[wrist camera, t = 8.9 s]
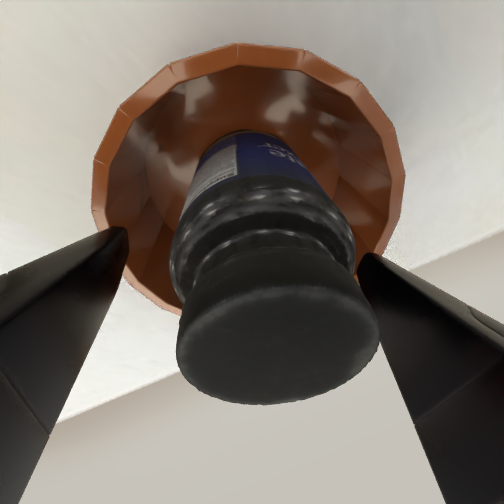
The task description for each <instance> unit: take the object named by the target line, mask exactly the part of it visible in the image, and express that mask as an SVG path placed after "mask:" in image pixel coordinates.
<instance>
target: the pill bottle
mask: <svg viewBox="0 0 504 504" xmlns="http://www.w3.org/2000/svg"><path fill="white" fill-rule="evenodd" d="M355 264H356V247H355V238H354V236H353V234H352V231H351V228H350V226H349V224H348V222H347V220H346V217H345V216H344V215H343V213H342V212H341V210H340V209H339V208H338V207H337V206H336V204H335V203H334V202H333V201H332V200H331V198H330V197H329V196H328V194H327V193H326V192H325V191H324V190H323V188H322V187H321V186H320V184H319V183H318V182H317V181H316V179H315V178H314V177H313V175H312V174H311V173H310V172H309V170H308V169H307V168H306V166H305V165H304V164H303V163H302V162H301V160H300V159H299V158H298V157H297V155H296V154H295V153H294V152H293V150H292V149H291V148H290V147H289V146H288V145H287V144H286V143H285V142H284V141H283V140H281V139H280V138H279V137H277V136H276V135H273V134H271V133H268V132H259V131H254V130H249V129H241V130H237V131H233V132H230V133H228V134H225V135H223V136H222V137H220V138H218V139H217V140H216V141H215V142H214V143H212V144H211V145H210V146H209V147H208V148H207V150H206V151H205V152H204V153H203V155H202V156H201V158H200V160H199V162H198V165H197V168H196V171H195V174H194V177H193V180H192V183H191V186H190V189H189V192H188V195H187V199H186V202H185V205H184V208H183V210H182V214H181V216H180V220H179V223H178V226H177V229H176V232H175V234H174V237H173V240H172V243H171V249H170V255H169V268H170V276H171V279H172V284H173V287H174V289H175V291H176V293H177V295H178V297H179V299H180V301H181V302H182V303H183V304H184V305H183V307H182V313H181V318H180V320H179V331H178V336H177V344H176V359H177V363H178V367H179V368H180V371H181V372H182V375H183V376H184V377H185V378H186V380H187V381H188V382H189V383H190V384H192V385H193V386H195V387H196V388H197V389H198V390H199V391H201V392H203V393H204V394H207V395H209V396H211V397H215V398H218V399H221V400H223V401H228V402H232V403H240V404H249V405H258V404H260V405H272V404H280V403H288V402H295V401H297V400H305V399H308V398H311V397H314V396H316V395H320V394H323V393H326V392H328V391H329V390H332V389H335V388H337V387H338V386H340V385H342V384H344V383H346V382H347V381H348V380H350V379H352V378H353V377H354V376H355V375H357V374H358V373H359V372H361V370H362V369H363V368H364V367H366V365H367V364H368V362H370V361H371V359H372V358H373V356H374V354H375V353H376V352H377V347H378V346H379V341H380V334H381V332H380V327H379V322H378V320H377V317H376V315H375V312H374V311H373V309H372V307H371V305H370V304H369V302H368V300H367V299H366V297H365V296H364V294H363V292H362V290H361V287H360V286H359V284H358V282H357V281H356V279H355V278H354V276H353V273H354V269H355Z"/></svg>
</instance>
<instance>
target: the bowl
mask: <svg viewBox="0 0 504 504" xmlns="http://www.w3.org/2000/svg"><path fill="white" fill-rule="evenodd" d="M241 129H249V130H254V131H259V132H268V133H271V134H273V135H276V136H277V137H279V138H280V139H281V140H283V141H284V142H285V143H286V144H287V145H288V146H289V147H290V148H291V149H292V150H293V152H294V153H295V154H296V155H297V157H298V158H299V159H300V160H301V162H302V163H303V164H304V165H305V166H306V168H307V169H308V170H309V172H310V173H311V174H312V175H313V177H314V178H315V179H316V181H317V182H318V183H319V184H320V186H321V187H322V188H323V190H324V191H325V192H326V193H327V194H328V196H329V197H330V198H331V200H332V201H333V202H334V203H335V204H336V206H337V207H338V208H339V209H340V210H341V212H342V213H343V215H344V216H345V217H346V220H347V222H348V224H349V226H350V228H351V231H352V234H353V236H354V238H355V247H356V264H355V269H354V273H353V276H354V278H355V279H356V281H357V282H358V278H357V275H356V269H357V266H358V264H359V263H360V261H361V259H362V257H363V255H364V254H365V253H367V252H370V253H377V254H379V255H381V256H382V254H383V253H384V250H385V248H386V246H387V244H388V242H389V240H390V238H391V236H392V233H393V231H394V229H395V227H396V225H397V223H398V221H399V218H400V213H401V205H402V198H403V190H404V182H405V170H404V166H403V162H402V158H401V153H400V149H399V145H398V141H397V137H396V132H395V128H394V127H393V124H392V123H391V121H390V120H389V118H388V117H387V116H386V114H385V113H384V112H383V110H382V109H381V108H380V106H379V105H378V103H377V102H376V101H375V99H374V98H373V97H372V95H371V94H370V93H369V91H368V90H367V88H366V87H365V86H364V84H363V83H362V82H360V80H359V79H357V78H355V77H353V76H352V75H350V74H348V73H346V72H345V71H343V70H341V69H339V68H338V67H336V66H334V65H332V64H331V63H329V62H327V61H325V60H324V59H322V58H320V57H318V56H317V55H315V54H313V53H311V52H309V51H308V50H304V49H299V48H289V47H280V46H270V45H260V44H250V43H241V42H238V43H231V44H228V45H225V46H222V47H218V48H215V49H212V50H209V51H206V52H203V53H199V54H196V55H193V56H190V57H187V58H183V59H180V60H177V61H174V62H171V63H170V64H168V65H166V66H165V67H164V68H162V69H161V70H160V71H159V72H158V73H157V74H155V75H154V76H153V77H152V78H151V79H150V80H148V81H147V82H146V83H145V84H144V85H143V86H141V87H140V88H139V89H138V90H137V91H136V92H135V93H133V94H132V95H131V96H130V97H129V98H128V99H126V100H125V101H124V102H123V103H122V104H121V105H120V107H119V108H118V109H117V111H116V113H115V115H114V117H113V119H112V121H111V123H110V125H109V127H108V129H107V131H106V133H105V136H104V138H103V140H102V142H101V144H100V146H99V148H98V150H97V152H96V154H95V156H94V160H93V177H92V197H91V209H92V210H91V211H92V214H93V217H94V220H95V223H96V226H97V229H98V232H100V231H102V230H105V229H107V228H109V227H112V226H120V227H125V228H126V229H127V232H128V239H129V255H128V258H127V261H126V265H125V268H124V271H123V274H122V275H123V277H124V278H125V279H126V281H127V282H128V283H129V284H130V285H131V286H132V287H133V288H135V289H136V290H137V291H139V292H140V293H141V294H143V295H144V296H145V297H147V298H148V299H149V300H151V301H152V302H153V303H155V304H156V305H157V306H159V307H161V308H162V309H165V310H167V311H169V312H172V313H174V314H176V315H179V316H181V313H182V307H183V305H184V304H183V303H182V302H181V301H180V299H179V297H178V295H177V293H176V291H175V289H174V287H173V284H172V279H171V276H170V268H169V255H170V249H171V243H172V240H173V237H174V234H175V232H176V229H177V226H178V223H179V220H180V216H181V214H182V210H183V208H184V205H185V202H186V199H187V195H188V192H189V189H190V186H191V183H192V180H193V177H194V174H195V171H196V168H197V165H198V162H199V160H200V158H201V156H202V155H203V153H204V152H205V151H206V150H207V148H208V147H209V146H210V145H211V144H212V143H214V142H215V141H216V140H217V139H218V138H220V137H222V136H223V135H225V134H228V133H230V132H233V131H237V130H241ZM358 283H359V282H358Z"/></svg>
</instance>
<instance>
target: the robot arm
mask: <svg viewBox="0 0 504 504" xmlns="http://www.w3.org/2000/svg"><path fill="white" fill-rule="evenodd" d="M128 255H129V239H128V232H127V229H126V228H125V227H120V226H112V227H109V228H107V229H105V230H102V231H100V232H98V233H96V234H93V235H91V236H89V237H87V238H84V239H82V240H80V241H77V242H75V243H73V244H71V245H68V246H66V247H64V248H62V249H59V250H57V251H55V252H52V253H50V254H48V255H46V256H43V257H41V258H39V259H37V260H34V261H32V262H30V263H28V264H25V265H23V266H21V267H18V268H16V269H14V270H12V271H9V272H8V274H6V273H5V274H2V275H0V504H18V503H19V501H20V499H21V497H22V495H23V493H24V491H25V488H26V486H27V484H28V482H29V480H30V478H31V475H32V473H33V471H34V469H35V467H36V465H37V463H38V460H39V458H40V456H41V454H42V452H43V449H44V447H45V445H46V443H47V441H48V439H49V435H50V434H51V432H52V430H53V428H54V426H55V423H56V421H57V419H58V417H59V415H60V413H61V411H62V408H63V406H64V404H65V402H66V400H67V398H68V396H69V393H70V391H71V389H72V387H73V385H74V383H75V381H76V378H77V376H78V374H79V372H80V370H81V368H82V365H83V363H84V361H85V359H86V357H87V355H88V353H89V350H90V348H91V346H92V344H93V342H94V340H95V338H96V335H97V333H98V331H99V329H100V327H101V325H102V322H103V320H104V318H105V316H106V314H107V312H108V310H109V307H110V305H111V303H112V301H113V299H114V297H115V294H116V292H117V290H118V287H119V284H120V281H121V277H122V274H123V271H124V268H125V265H126V261H127V258H128ZM356 275H357V278H358V282H359V285H360V287H361V290H362V292H363V294H364V296H365V297H366V299H367V300H368V302H369V304H370V305H371V307H372V309H373V311H374V312H375V315H376V317H377V320H378V322H379V327H380V332H381V334H380V343H381V345H382V348H383V350H384V353H385V355H386V357H387V360H388V362H389V365H390V367H391V370H392V372H393V374H394V377H395V380H396V382H397V384H398V387H399V389H400V391H401V394H402V397H403V399H404V402H405V404H406V406H407V409H408V411H409V414H410V416H411V419H412V421H413V424H415V429H416V431H417V434H418V436H419V439H420V441H421V444H422V446H423V449H424V451H425V453H426V456H427V458H428V461H429V463H430V466H431V468H432V471H433V473H434V475H435V478H436V481H437V483H438V485H439V488H440V490H441V493H442V495H443V498H444V500H445V503H446V504H504V325H503V324H501V323H500V322H498V321H496V320H494V319H492V318H491V317H489V316H487V315H485V314H483V313H482V312H480V311H478V310H476V309H474V308H473V307H471V306H469V305H466V304H465V303H463V302H462V301H460V300H458V299H457V298H455V297H453V296H451V295H450V294H448V293H446V292H444V291H442V290H441V289H439V288H437V287H435V286H434V285H432V284H430V283H428V282H426V281H425V280H423V279H421V278H419V277H418V276H416V275H414V274H412V273H411V272H409V271H407V270H405V269H404V268H402V267H400V266H398V265H396V264H395V263H393V262H391V261H389V260H388V259H386V258H384V257H382V256H381V255H379V254H377V253H370V252H367V253H365V254H364V255H363V257H362V259H361V261H360V263H359V264H358V266H357V269H356Z"/></svg>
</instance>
